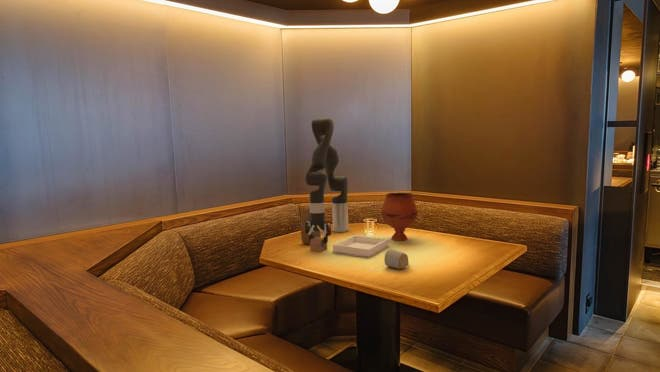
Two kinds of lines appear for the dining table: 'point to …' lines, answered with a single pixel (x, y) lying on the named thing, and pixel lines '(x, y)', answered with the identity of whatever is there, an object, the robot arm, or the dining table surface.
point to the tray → (360, 246)
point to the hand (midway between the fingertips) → (318, 242)
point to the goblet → (399, 213)
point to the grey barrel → (396, 259)
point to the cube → (318, 244)
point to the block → (304, 218)
